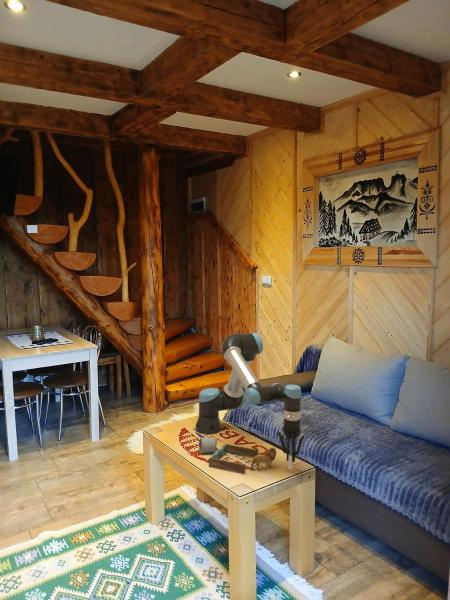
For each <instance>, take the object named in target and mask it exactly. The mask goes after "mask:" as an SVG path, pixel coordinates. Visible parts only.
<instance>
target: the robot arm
mask: <svg viewBox="0 0 450 600" xmlns="http://www.w3.org/2000/svg"><path fill="white" fill-rule="evenodd" d="M220 347H221V348H220V349H221V350H220V351H221V354H222V356H223V359H224V360H225V361H226V362H228V363H229V365H230V366H231V368H232V370H231V373H230V376H229V379H228V383H226V384H225V385H223V389H222V390H219V388H216V387H210V388H209V387H207V388H204V389H203V390H201V391H200V392H199V393H198V394H199V395H198V417H197V420H196V423H195V431H196V432H197V433H200V434H205V435H213V434H217V433H220V432H221V431H222V423H221V419H220V415H219V414H220V412H221V411H223V412H224V411H230V410H231V411H233V410H238V409H241V408H242V407H243V406H244V404H245V402H246V403H247V404H249V405H258V404H259V405H260V404H266V403H273V402H274V403H275V402H281V403H283V408H284V409H283V428H282V430H279V431H278V432H277V436H278V437H279V441H280V444H281V445H280V447H281V450H282V453H283V454H285V456H286V458H285V459H286V462H288V468H287V469H288V470H293V467H294V463H295V462H296V456H299V454H300V452H301V448H302V445H303V441H304V439H305V438H306V434H304V433H302V431H301V430H302V429H301V411H302V410H301V408H302V407H301V405H302V388H301V386H300V385H297V384H286V385H285V384H283V383H278V382H274V383H273V384H271V385H267V386H262V384H261V383H260V381H259V380H258V379H257V377H256V375H255V373H254V372H253V371H252V369H251V367H250V365H251V363H252V362H253V361H255V359H256V357H257V355H261V354H262V353H263V351H264V350H263V349H264V344H263V339H262V337H261V335H260V334H259V333H256V332H248V333H232V334H229V335H228V336H226V337H225V338H224V339H223V341H222V344H221V346H220ZM243 388H244V390H243ZM285 437H286V441H285ZM298 437H299V441H298V445H297V438H298ZM291 442H292V443H291Z"/></svg>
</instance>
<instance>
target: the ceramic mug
mask: <svg viewBox="0 0 450 600" xmlns="http://www.w3.org/2000/svg"><path fill="white" fill-rule="evenodd" d="M217 445H218V443H217V439H216V438H215V437H200V438H199V442H198V449H199V453H200V454H212V453H213V454H214V453H216V452H217V447H218V446H217Z"/></svg>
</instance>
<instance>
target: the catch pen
mask: <svg viewBox="0 0 450 600" xmlns="http://www.w3.org/2000/svg"><path fill="white" fill-rule="evenodd" d="M226 454H232V455H235V456H236V455H238V456H243V457H248V458H251V459H253V458H254V457H255V456H256V455H259V449H256V448H250V447H244V446H239V445H233V444H229V443H224V445H222V446H221V447H220V448H219V449H218V450H216V451H215V452H214V453H213V454H212V455H211V456H210V457H209V458H208V467H209V468H215V469H219V470H223V471H227V472H233V473H239V474H246V464H245V463H240V462H235V461H229V460H226V459H221V458H223V457H224V456H225V455H226Z"/></svg>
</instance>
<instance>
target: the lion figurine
mask: <svg viewBox="0 0 450 600" xmlns="http://www.w3.org/2000/svg"><path fill="white" fill-rule="evenodd" d="M276 457H277V450H276V448H275V447H270V448H268V451H267V452H266V454H263V455H260V454H258V455H256V456H255V457H254V458H252V461H251V464H250V469H249V471H252V470H253V469H254V467H253V466H254V465H255V464H256V469H257V470H258V471H259V472H260V471H262V469H261V468H260V464H261V463H262V464H265V467H266V468H267V467H268V468H269V469H271V470H272V469H273V467H272V464H273V462H274V461H275V460H276Z"/></svg>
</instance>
